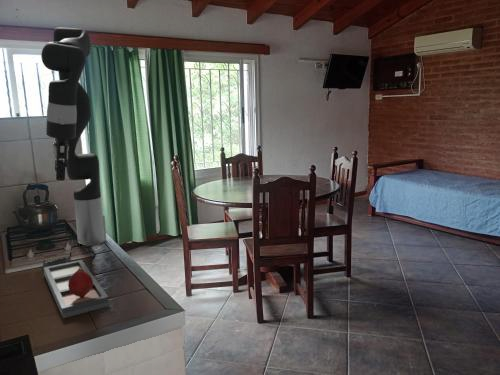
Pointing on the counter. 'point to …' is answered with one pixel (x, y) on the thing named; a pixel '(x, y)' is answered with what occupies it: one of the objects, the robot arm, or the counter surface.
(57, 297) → the keypad
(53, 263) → the phone
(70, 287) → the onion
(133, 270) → the counter surface
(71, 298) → the terracotta key
